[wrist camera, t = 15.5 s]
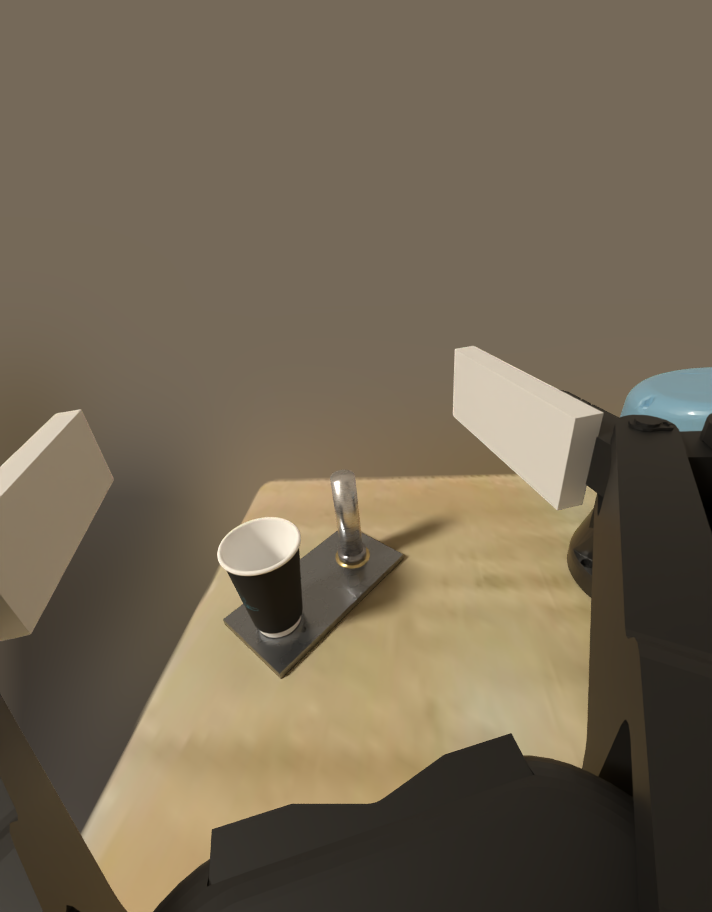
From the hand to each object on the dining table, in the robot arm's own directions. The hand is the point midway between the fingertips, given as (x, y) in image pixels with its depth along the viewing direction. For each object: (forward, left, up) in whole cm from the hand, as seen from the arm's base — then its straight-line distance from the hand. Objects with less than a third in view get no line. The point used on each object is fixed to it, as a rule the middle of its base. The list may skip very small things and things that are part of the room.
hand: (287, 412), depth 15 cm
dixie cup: (-6, -17, -31) cm, 36 cm away
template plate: (-12, -17, -32) cm, 38 cm away
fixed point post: (-18, -17, -32) cm, 41 cm away
